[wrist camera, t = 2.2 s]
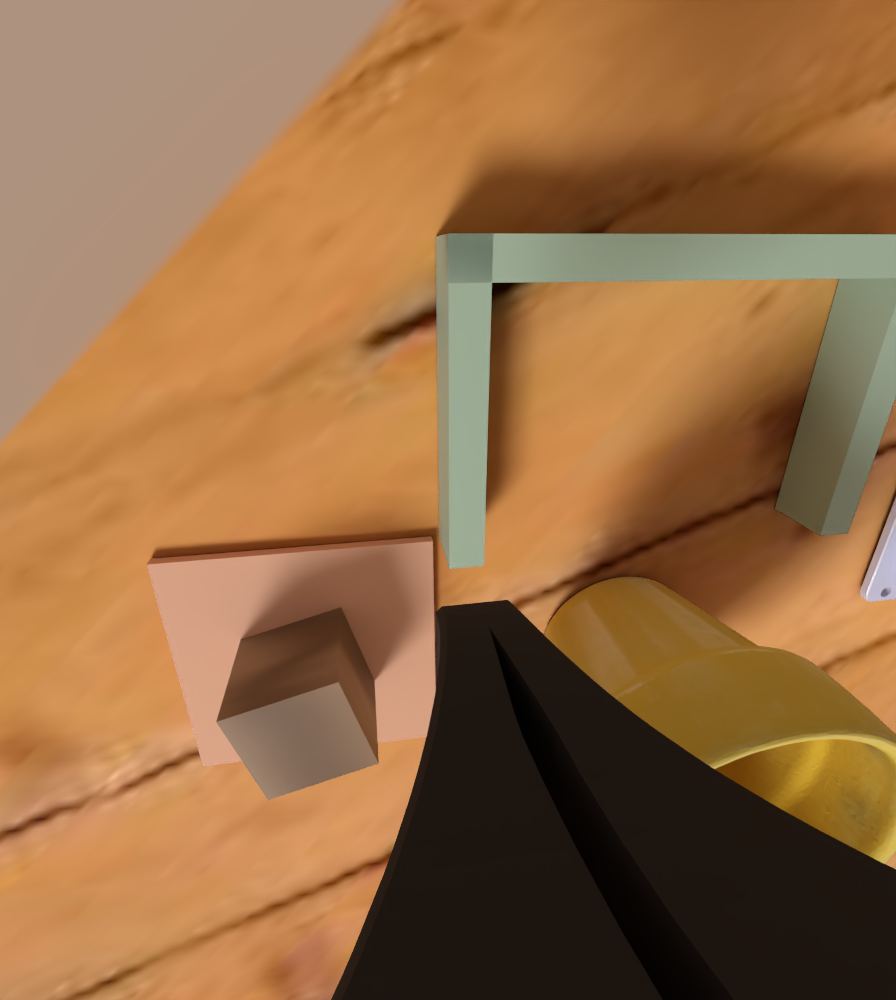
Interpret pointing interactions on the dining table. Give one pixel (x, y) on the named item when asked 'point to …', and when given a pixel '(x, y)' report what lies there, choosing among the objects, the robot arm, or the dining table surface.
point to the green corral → (675, 257)
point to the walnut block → (301, 705)
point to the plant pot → (738, 707)
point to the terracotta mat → (296, 596)
